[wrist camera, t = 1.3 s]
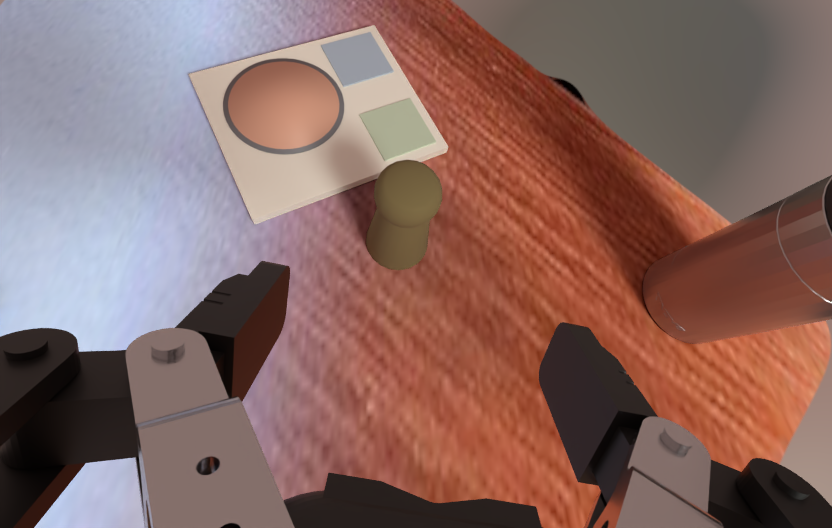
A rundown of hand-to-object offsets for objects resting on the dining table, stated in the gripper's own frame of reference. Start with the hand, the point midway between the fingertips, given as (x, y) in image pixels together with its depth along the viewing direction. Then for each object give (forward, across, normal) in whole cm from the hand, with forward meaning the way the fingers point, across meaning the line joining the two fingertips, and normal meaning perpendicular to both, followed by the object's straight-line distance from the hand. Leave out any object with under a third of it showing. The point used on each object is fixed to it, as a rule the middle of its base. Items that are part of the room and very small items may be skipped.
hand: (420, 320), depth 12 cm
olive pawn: (+27, +1, +8) cm, 28 cm away
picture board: (+35, +11, -1) cm, 37 cm away
